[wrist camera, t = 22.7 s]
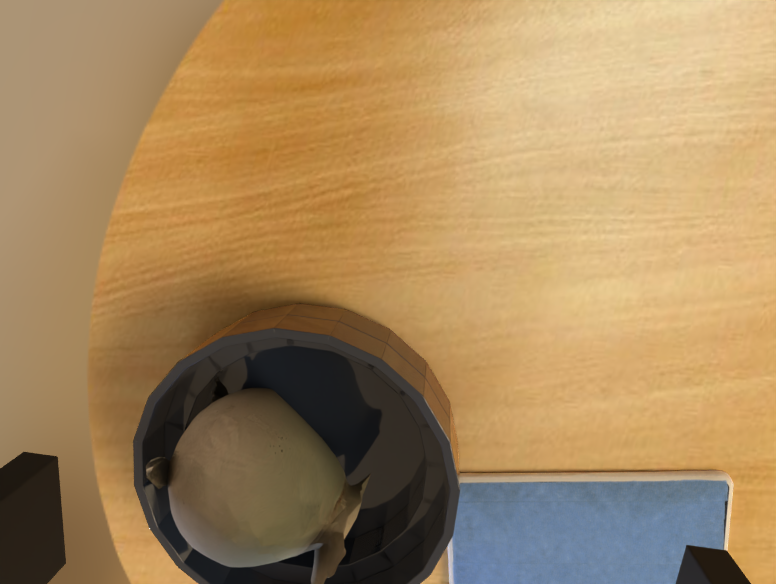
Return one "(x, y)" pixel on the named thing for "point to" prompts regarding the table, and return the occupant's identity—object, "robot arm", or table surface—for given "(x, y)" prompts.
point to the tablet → (585, 526)
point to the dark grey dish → (337, 428)
